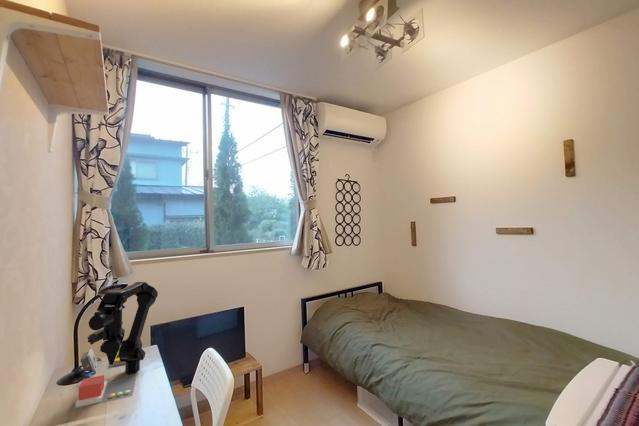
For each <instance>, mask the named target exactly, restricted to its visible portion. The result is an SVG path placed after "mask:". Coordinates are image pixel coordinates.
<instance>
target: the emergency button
mask: <svg viewBox="0 0 639 426" xmlns="http://www.w3.org/2000/svg"><path fill="white" fill-rule="evenodd" d="M118 353H119V351H118ZM118 353H117V356H116V358H115V360H114V363H113V364H112V365H109V369H114V368H118V367H123V366H125V362H120V358H119V354H118Z"/></svg>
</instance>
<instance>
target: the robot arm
mask: <svg viewBox="0 0 639 426" xmlns="http://www.w3.org/2000/svg"><path fill="white" fill-rule="evenodd" d="M158 295H159V292H158V290H157V289H156V288H155V287H154V286H151V285H150V284H148V283H147V282H146V281H136V282H134V283H133V284H131V285H129V286H126V287H124V288H121V289H118V290H112V291H111V290H110V291H107V292H105V293H104V295H103V296H102V298H101V300H100V303H99V305H98V306H97V309H96V311H94V313H93V316H91V317H90V319H89V321H88V327H89V328H90V329H91V330H92V331H94V332H93V333H91V334H89V335H88V336H87V343H89V344H90V345H94V344H95V343H97V342H99V341H101V340H102V341H103V342H102V343H101V344H100V346H99V348H100V349H99V351H100V352H101V353H104V354H105V355H106V358H107V361H108V364H109V366H110V365H112V364H113V363H114V360H115V358H116V356H117V353H118V352H119V353H118V354H119V358H120V362H125V367H124V373H125V374H127V375H128V376H130V375H134V374H135V375H136V373H138V372H139V371H140V370H141V369H140V368H141V361H143V360H144V358H145V356H146V351H145V350H144V349H143V343H142V340H141V339H142V334H143V331H144V328H145V324H146V320H147V317H148V313H149V310H150V308H151V307H152V305H154V304H155V302H156V300H157V298H158ZM133 296H135V297H136V302H137V303H136V304H137V310H136V312H135V315H134V319H133V322H132V325H131V329H130V330H129V331H130V332H129V335H128V337H127V338H126V339H124V338H125V334H126V333H125V332H126V331H125V330H126V329H125V328H123V323H124V322H123V309H125V308H126V306H125V305H124V304H125V303H126V302H127V301H128V299H129V298H131V297H133Z"/></svg>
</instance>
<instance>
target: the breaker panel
mask: <svg viewBox="0 0 639 426" xmlns="http://www.w3.org/2000/svg"><path fill="white" fill-rule="evenodd" d="M136 380H137V376H132V377H126V378H122V379H117V380H112V381H108V380H104V389H103V391H102V394H101V396H97V397H92V398H88V399H83V400H79V401H78V399H79V394H78V395H77V397H76V399H75V401H74V402H73V405H72V407H71V408H70V411H74V410H78V409H82V408H87V407H91V406H95V405H99V404H103V403H109V402H113V401H117V400H121V399H125V398H130V397H133V394H134V390H135V386H136Z"/></svg>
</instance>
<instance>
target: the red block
mask: <svg viewBox="0 0 639 426" xmlns="http://www.w3.org/2000/svg"><path fill="white" fill-rule="evenodd" d="M104 381H105V374H103V375H97V376H91V377H87V378H83V379H82V380H81V383H80V384H79V386H78V395H79V399H78V401H79V400H83V399H88V398H92V397H97V396H101V394H102V391H103V389H104Z"/></svg>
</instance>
